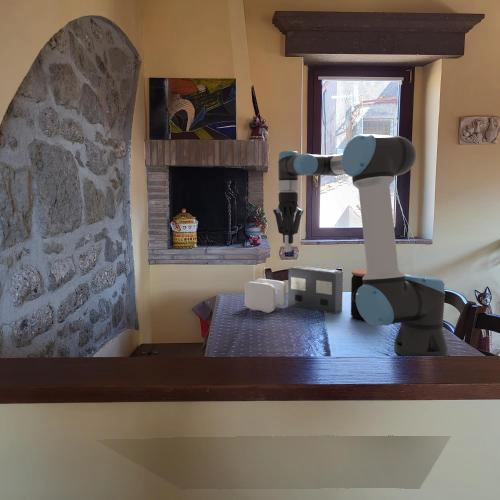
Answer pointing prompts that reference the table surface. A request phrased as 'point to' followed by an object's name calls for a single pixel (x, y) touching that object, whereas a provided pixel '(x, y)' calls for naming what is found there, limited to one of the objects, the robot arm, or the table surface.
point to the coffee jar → (355, 285)
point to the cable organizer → (265, 295)
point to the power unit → (315, 289)
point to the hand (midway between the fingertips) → (288, 251)
